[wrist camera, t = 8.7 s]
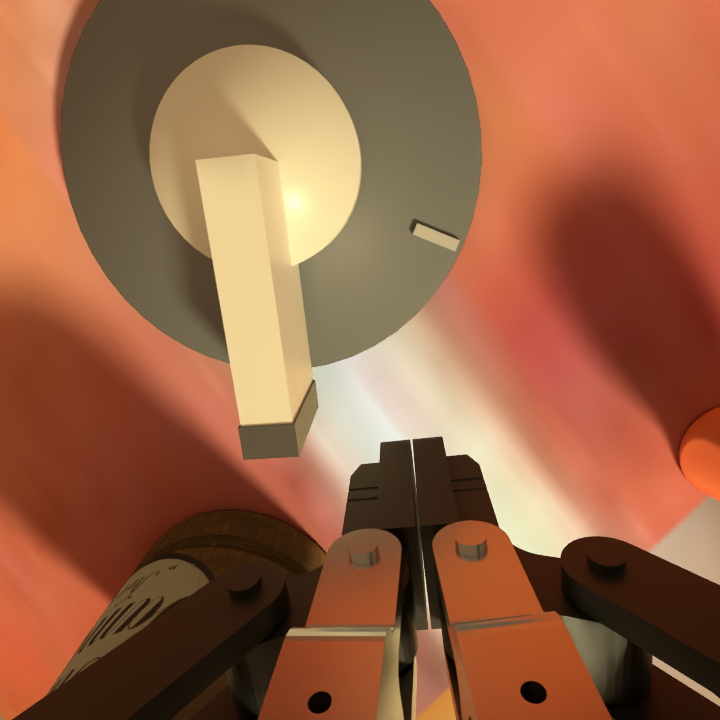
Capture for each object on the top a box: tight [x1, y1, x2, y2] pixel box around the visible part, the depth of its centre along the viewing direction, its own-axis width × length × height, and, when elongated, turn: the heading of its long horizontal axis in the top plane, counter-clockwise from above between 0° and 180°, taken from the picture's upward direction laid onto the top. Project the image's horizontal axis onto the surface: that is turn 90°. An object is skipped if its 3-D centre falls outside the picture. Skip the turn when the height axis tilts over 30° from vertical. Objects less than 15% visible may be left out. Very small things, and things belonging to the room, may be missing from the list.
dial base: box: [61, 0, 482, 368], centre depth 28 cm, size 22×22×2 cm
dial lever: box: [149, 44, 363, 460], centre depth 25 cm, size 18×10×7 cm, turn 5°
